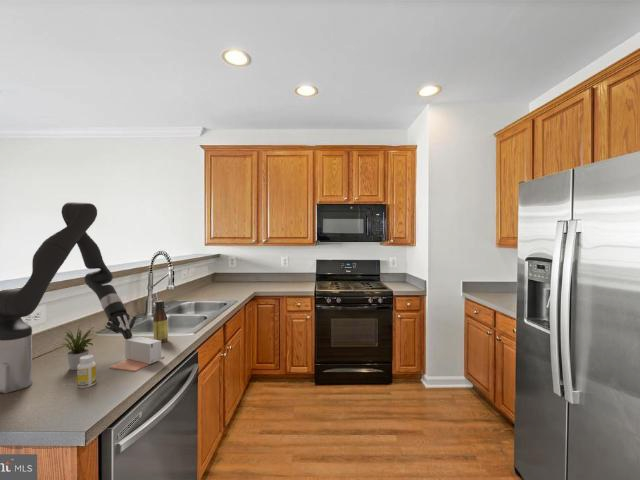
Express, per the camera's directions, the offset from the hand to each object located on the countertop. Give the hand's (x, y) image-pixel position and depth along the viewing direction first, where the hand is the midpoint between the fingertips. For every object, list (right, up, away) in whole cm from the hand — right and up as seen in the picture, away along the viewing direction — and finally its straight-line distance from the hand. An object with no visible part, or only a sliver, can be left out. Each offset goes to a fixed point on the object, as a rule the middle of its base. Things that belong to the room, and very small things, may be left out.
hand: (129, 338), depth 144 cm
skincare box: (0, -4, +1) cm, 4 cm away
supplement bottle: (-1, -9, -26) cm, 27 cm away
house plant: (-15, -9, -11) cm, 21 cm away
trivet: (+6, -8, -5) cm, 11 cm away
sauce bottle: (+2, -8, +23) cm, 25 cm away
